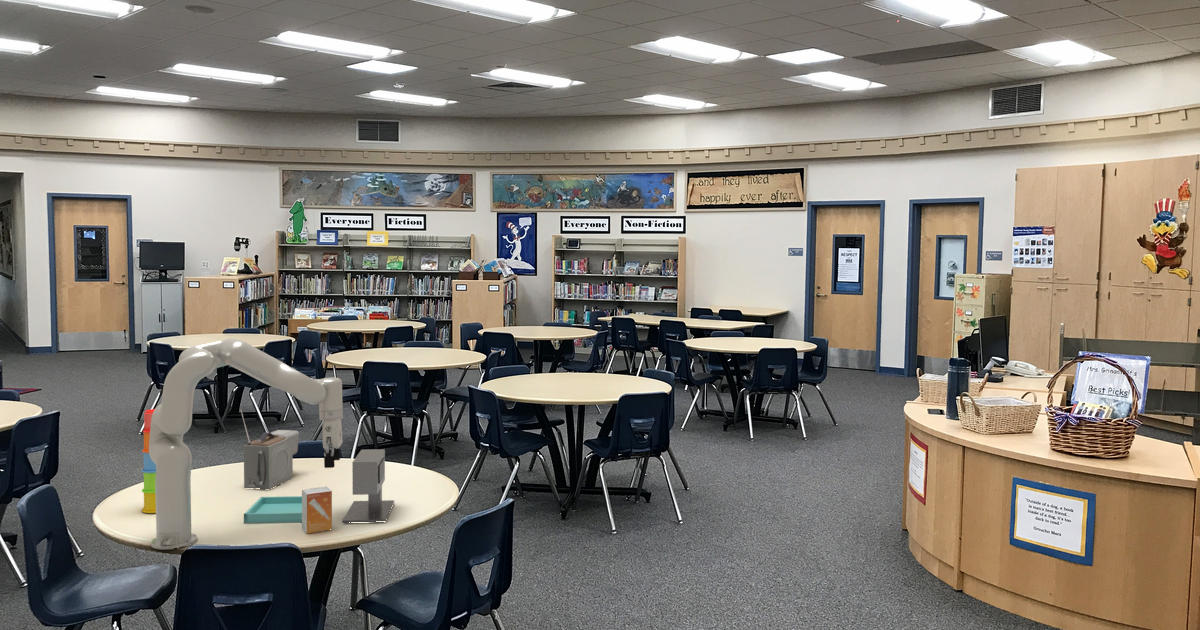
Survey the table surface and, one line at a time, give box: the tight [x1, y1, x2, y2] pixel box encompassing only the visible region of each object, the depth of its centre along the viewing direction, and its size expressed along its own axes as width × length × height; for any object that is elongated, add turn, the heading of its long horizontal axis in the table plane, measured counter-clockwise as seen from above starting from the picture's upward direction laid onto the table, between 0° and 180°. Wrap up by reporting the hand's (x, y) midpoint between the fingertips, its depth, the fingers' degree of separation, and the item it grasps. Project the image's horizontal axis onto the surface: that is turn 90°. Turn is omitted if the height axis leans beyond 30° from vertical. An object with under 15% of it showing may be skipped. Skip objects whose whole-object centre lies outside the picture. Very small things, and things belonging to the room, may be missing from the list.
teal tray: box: [243, 495, 302, 524], centre depth 284 cm, size 20×22×3 cm
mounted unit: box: [341, 448, 395, 524], centre depth 284 cm, size 22×14×20 cm, turn 7°
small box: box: [301, 485, 333, 534], centre depth 267 cm, size 8×6×13 cm
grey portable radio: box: [239, 409, 300, 490], centre depth 321 cm, size 12×24×30 cm, turn 172°
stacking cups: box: [141, 408, 156, 514], centre depth 284 cm, size 10×10×35 cm
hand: (332, 463), depth 283 cm, fingers open, 9 cm apart
